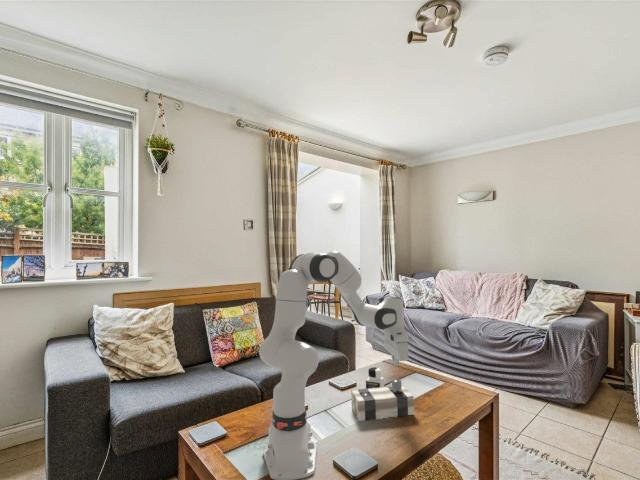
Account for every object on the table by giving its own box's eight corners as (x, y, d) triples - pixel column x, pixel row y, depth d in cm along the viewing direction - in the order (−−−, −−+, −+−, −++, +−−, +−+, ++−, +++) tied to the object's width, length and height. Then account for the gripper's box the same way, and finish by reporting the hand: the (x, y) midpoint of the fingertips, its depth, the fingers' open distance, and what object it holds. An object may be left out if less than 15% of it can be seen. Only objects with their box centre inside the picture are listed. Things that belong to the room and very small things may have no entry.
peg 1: (372, 412, 145) (371, 395, 145) (363, 413, 144) (362, 396, 145) (369, 408, 149) (369, 392, 149) (360, 409, 148) (360, 393, 148)
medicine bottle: (366, 395, 165) (365, 369, 166) (370, 389, 172) (370, 365, 172) (380, 397, 162) (379, 371, 162) (384, 391, 168) (383, 367, 169)
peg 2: (403, 398, 147) (402, 382, 147) (394, 399, 146) (393, 383, 147) (399, 395, 151) (399, 379, 151) (391, 395, 150) (390, 379, 151)
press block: (414, 415, 143) (413, 396, 144) (358, 421, 140) (358, 401, 140) (403, 403, 155) (402, 385, 156) (351, 408, 152) (351, 389, 152)
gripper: (380, 328, 160) (381, 358, 159) (396, 339, 139) (397, 373, 139) (392, 327, 161) (394, 357, 160) (410, 338, 140) (412, 372, 140)
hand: (395, 364), depth 149 cm, fingers closed
